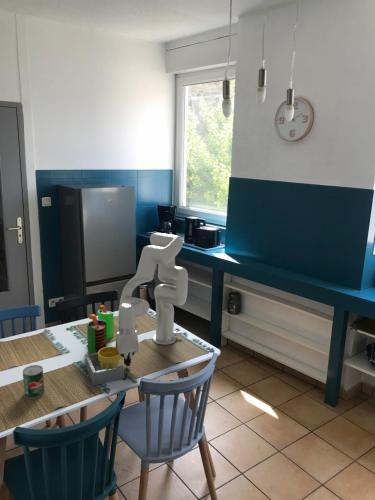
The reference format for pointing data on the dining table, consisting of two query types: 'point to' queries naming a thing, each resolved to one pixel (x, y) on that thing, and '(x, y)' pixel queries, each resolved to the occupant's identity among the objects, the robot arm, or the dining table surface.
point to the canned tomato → (33, 381)
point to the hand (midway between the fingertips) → (127, 364)
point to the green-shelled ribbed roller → (109, 318)
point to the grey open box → (102, 371)
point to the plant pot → (108, 357)
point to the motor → (96, 334)
